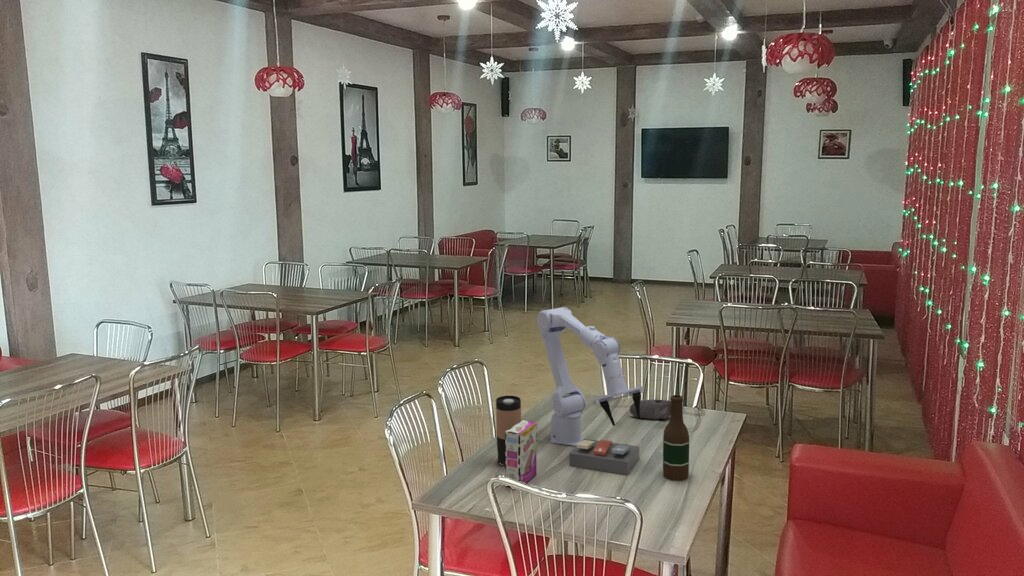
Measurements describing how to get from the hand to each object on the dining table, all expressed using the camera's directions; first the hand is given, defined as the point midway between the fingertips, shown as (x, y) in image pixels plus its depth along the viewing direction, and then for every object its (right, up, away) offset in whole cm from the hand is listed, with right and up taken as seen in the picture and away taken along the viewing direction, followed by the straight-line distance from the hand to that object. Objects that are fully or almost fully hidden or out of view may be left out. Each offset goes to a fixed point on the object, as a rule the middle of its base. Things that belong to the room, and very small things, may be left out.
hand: (626, 422), depth 225 cm
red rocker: (-7, -9, +3) cm, 12 cm away
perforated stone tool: (+15, -6, +43) cm, 46 cm away
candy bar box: (-31, -16, -6) cm, 36 cm away
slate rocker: (-2, -9, +1) cm, 10 cm away
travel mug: (-35, -14, +7) cm, 38 cm away
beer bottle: (+14, -15, -5) cm, 21 cm away
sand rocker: (-12, -9, +6) cm, 16 cm away
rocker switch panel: (-6, -13, +5) cm, 15 cm away
